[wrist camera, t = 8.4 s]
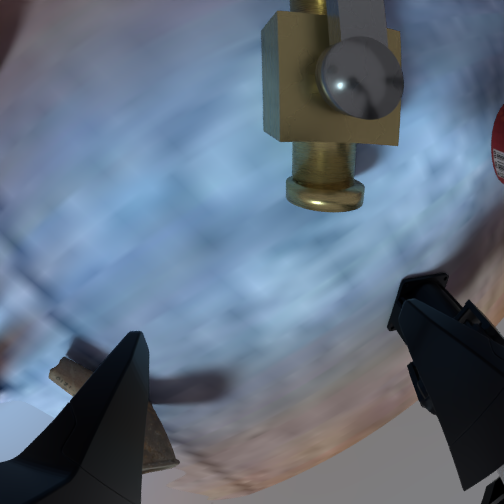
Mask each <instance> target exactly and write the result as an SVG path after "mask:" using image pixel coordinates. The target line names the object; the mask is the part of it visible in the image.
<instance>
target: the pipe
mask: <svg viewBox="0 0 504 504" xmlns="http://www.w3.org/2000/svg"><path fill="white" fill-rule="evenodd" d="M93 373H94V372H92V371H91V370H89V369H87V368H85V367H83V366H81V365H80V364H77V363H76V362H74V361H72V360H70V359H68V358H66V357H63V358H62V359H61V360H60V362H59V364H58V365H57V366H56V367H54V368H52V369H51V370H50V373H49V379H51V380H52V381H53V382H54V383H56V384H57V385H59V386H60V387H61V388H62V389H64V390H65V391H66V392H68V393H69V394H70V395H72V396H73V397H74V395H75V394H76V393H77V392H78V391H79V389H80V388H81V387H82V386H83V385H84V383H85V382H86V381H87V380H88V379H89V377H90V376H91V375H92V374H93ZM179 463H180V461H179V460H177V459H176V458H175V454H174V452H173V449H172V446H171V444H170V441H169V439H168V436H167V434H166V432H165V430H164V428H163V425H162V423H161V421H160V420H159V418H158V416H157V414H156V412H155V410H154V409H153V406H152V403H151V402H150V401H148V409H147V418H146V428H145V439H144V451H143V466H142V474H145V473H149V472H155V471H160V470H165V469H170V468H173V467H175V466H176V465H178V464H179Z"/></svg>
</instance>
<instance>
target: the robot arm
mask: <svg viewBox="0 0 504 504" xmlns="http://www.w3.org/2000/svg"><path fill="white" fill-rule="evenodd" d="M448 278H449V276H448V275H447V274H446V273H440V274H435V275H429V276H423V277H417V278H411V279H405V280H403V281H402V282H401V284H400V287H399V290H398V294H397V297H396V300H395V304H394V307H393V310H392V313H391V316H390V319H389V322H388V325H387V328H388V330H389V331H394V330H397V332H398V333H399V335H400V336H401V338H402V339H403V341H404V342H405V344H406V345H407V346H408V349H409V352H410V355H411V357H412V359H413V362H410V363H409V364H408V365H407V367H408V370H409V374H410V377H411V380H412V382H413V385H414V388H415V391H416V394H417V397H418V400H419V402H420V404H421V406H422V407H424V408H426V409H427V410H428V411H429V412H431V413H432V414H434V415H436V416H437V417H438V419H439V422H440V424H441V427H442V429H443V432H444V435H445V437H446V440H447V443H448V446H449V449H450V451H451V454H452V457H453V460H454V463H455V466H456V469H457V472H458V475H459V478H460V481H461V485H462V488H463V490H464V491H466V490H467V489H469V488H470V487H472V486H474V485H475V484H477V483H478V482H480V481H481V480H483V479H484V478H486V477H487V476H489V475H490V474H492V473H493V472H494V471H496V470H497V471H498V474H499V477H498V478H497V479H496V480H494V481H493V482H492V483H490V484H489V485H488V486H487V487H486V490H485V493H484V496H483V500H482V503H481V504H504V337H503V336H502V335H501V334H500V332H499V331H498V330H497V329H496V327H495V326H494V325H493V324H492V323H491V322H490V321H489V319H488V318H487V317H486V316H485V315H484V314H483V313H482V312H481V311H480V310H479V309H478V308H477V307H476V306H475V305H474V304H473V303H472V302H471V301H470V300H469V299H468V301H467V302H466V303H465V306H464V307H462V306H461V305H460V304H459V303H458V302H457V301H456V299H455V298H454V297H453V296H452V295H451V294H450V293H449V292H448V291H447V290H446V289H445V287H446V284H447V281H448ZM405 284H406V285H405ZM148 399H149V349H148V346H147V343H146V340H145V338H144V335H143V333H142V332H141V331H130V332H129V333H128V334H127V335H126V336H125V337H124V338H123V339H122V340H121V342H120V343H119V344H118V345H117V346H116V347H115V348H114V350H113V351H112V352H111V353H110V354H109V355H108V356H107V358H106V359H105V360H104V361H103V362H102V363H101V365H100V366H99V367H98V368H97V369H96V370H95V372H94V373H93V374H92V375H91V376H90V377H89V379H88V380H87V381H86V382H85V383H84V385H83V386H82V387H81V388H80V389H79V391H78V392H77V393H76V394H75V395H74V397H73V398H72V399H71V400H70V403H68V404H67V405H66V406H65V407H64V409H63V410H62V411H61V412H60V413H59V414H58V416H57V417H56V418H55V419H54V420H53V421H52V423H50V424H49V426H48V427H47V428H46V429H45V430H44V431H43V432H42V433H41V434H40V435H39V436H38V437H37V438H36V439H35V440H34V441H33V442H32V443H31V444H30V445H29V446H28V447H27V448H26V449H25V450H24V451H23V452H22V453H21V454H20V455H18V456H17V457H15V458H13V459H11V460H8V461H5V462H1V463H0V504H141V483H142V466H143V451H144V439H145V428H146V418H147V409H148Z"/></svg>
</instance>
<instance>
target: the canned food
mask: <svg viewBox="0 0 504 504" xmlns="http://www.w3.org/2000/svg"><path fill="white" fill-rule="evenodd" d="M491 153H492V162H493V167H494V170H495V173H496V175H497V177H498V179H499V180H500V181H501V182H502V183H503V184H504V104H503V106H502V107H501V108H500V110H499V112H498V114H497V116H496V119H495V122H494V126H493V131H492V140H491Z"/></svg>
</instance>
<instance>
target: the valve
mask: <svg viewBox="0 0 504 504" xmlns="http://www.w3.org/2000/svg"><path fill="white" fill-rule="evenodd" d="M387 38H388V49H389V50H390V51H391V52H392V53H393V54H394V56H395V57H396V58H397V60H398V62H399V64H400V67H401V41H400V31H396V30H392V29H389V28H387ZM261 42H262V80H263V128H264V132H266V133H267V134H269V135H270V136H272V137H273V138H275V139H276V140H278V141H279V142H293V150H292V176H291V177H289V178H288V179H287V180H286V198H287V200H288V201H289V202H290V203H292V204H294V205H296V206H299V207H302V208H305V209H309V210H314V211H321V212H347V211H352V210H355V209H358V208H360V207H361V206H362V205H363V199H364V190H365V187H364V185H363V184H362V183H361V182H359V181H357V180H355V179H354V173H355V160H356V144H357V143H363V144H378V145H391V146H398V142H399V128H400V110H401V100H400V102H399V104H398V105H397V107H396V108H395V109H394V110H393V111H392V112H391V113H390V114H388V115H387V116H385V117H383V118H379V119H375V120H366V119H360V118H356V117H351V116H347V115H343V114H341V113H339V112H337V111H335V110H334V109H332V108H331V107H330V106H329V105H328V104H327V103H326V102H325V101H324V99H323V98H322V96H321V95H320V93H319V91H318V88H317V85H316V81H315V67H316V63H317V60H318V58H319V56H320V54H321V53H322V52H323V51H324V50H325V49H326V48H327V47H328V46H330V44H329V30H328V18H327V7H326V0H290V12H288V11H277V12H276V13H275V14H274V15H273V17H272V18H271V19H270V20H269V22H268V23H267V24H266V25H265V27H264V28H263V29H262V30H261Z"/></svg>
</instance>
